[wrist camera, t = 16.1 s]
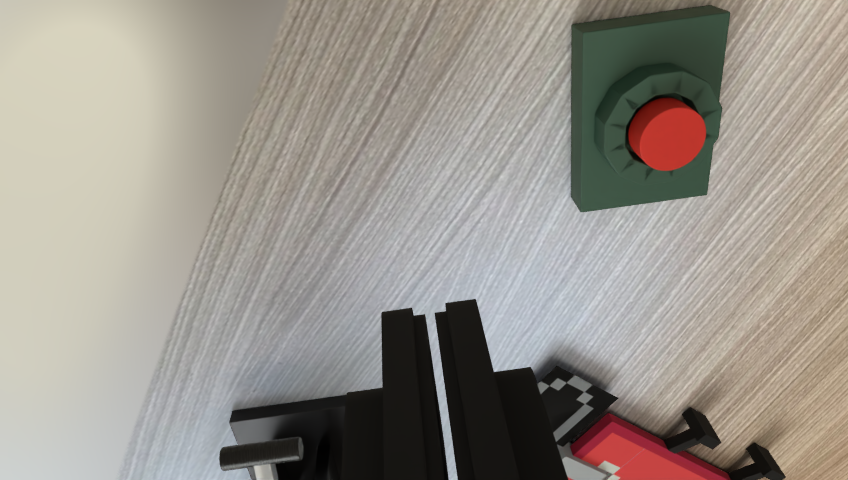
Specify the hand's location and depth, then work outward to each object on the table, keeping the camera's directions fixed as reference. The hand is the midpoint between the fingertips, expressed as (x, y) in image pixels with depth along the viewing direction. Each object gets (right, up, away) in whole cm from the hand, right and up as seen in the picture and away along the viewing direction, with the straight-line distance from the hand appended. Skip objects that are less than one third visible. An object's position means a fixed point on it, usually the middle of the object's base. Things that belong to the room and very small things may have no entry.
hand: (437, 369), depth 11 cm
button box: (+13, +10, +26) cm, 31 cm away
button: (+13, +9, +23) cm, 28 cm away
